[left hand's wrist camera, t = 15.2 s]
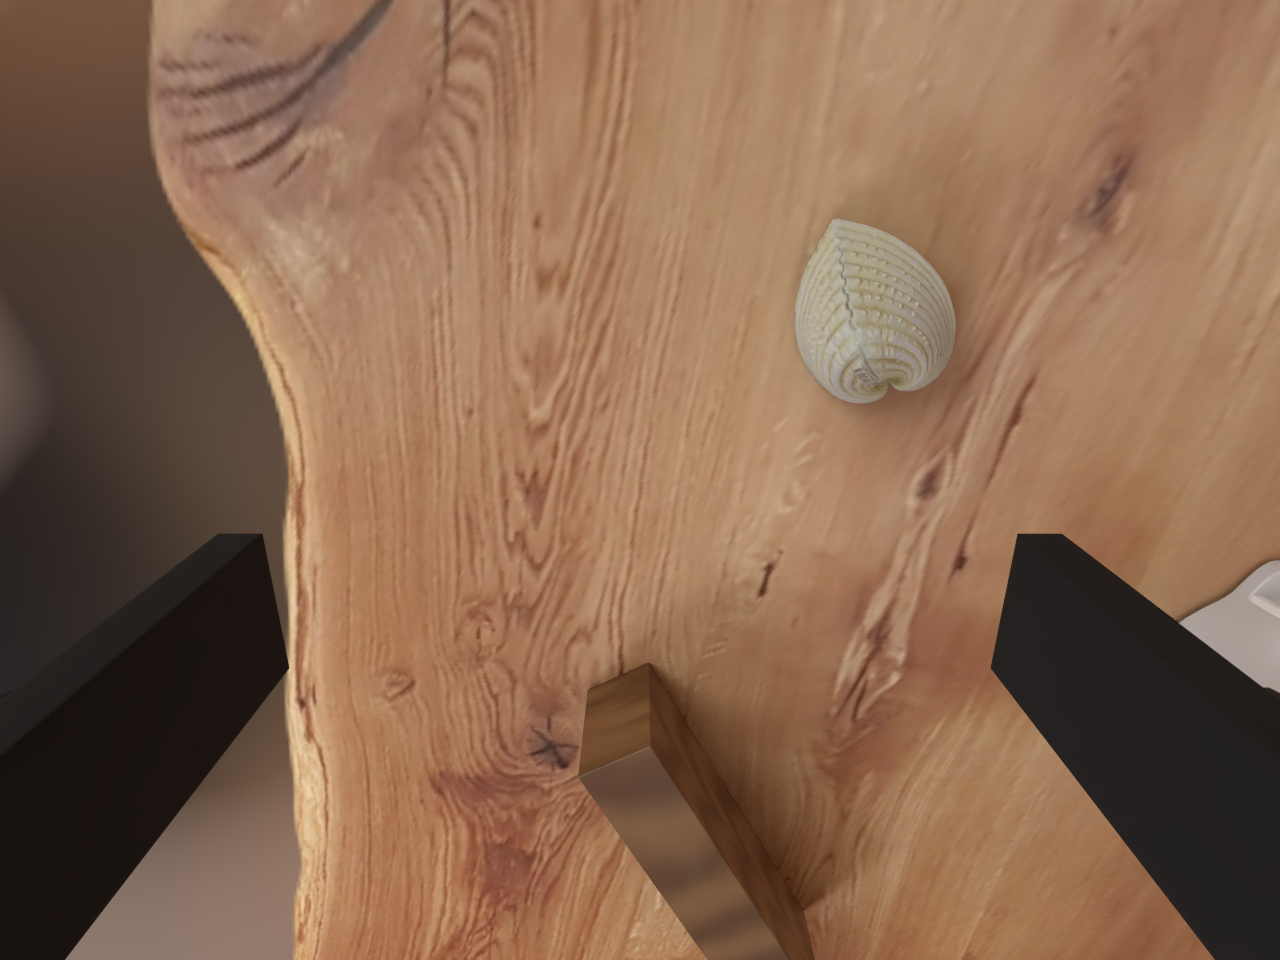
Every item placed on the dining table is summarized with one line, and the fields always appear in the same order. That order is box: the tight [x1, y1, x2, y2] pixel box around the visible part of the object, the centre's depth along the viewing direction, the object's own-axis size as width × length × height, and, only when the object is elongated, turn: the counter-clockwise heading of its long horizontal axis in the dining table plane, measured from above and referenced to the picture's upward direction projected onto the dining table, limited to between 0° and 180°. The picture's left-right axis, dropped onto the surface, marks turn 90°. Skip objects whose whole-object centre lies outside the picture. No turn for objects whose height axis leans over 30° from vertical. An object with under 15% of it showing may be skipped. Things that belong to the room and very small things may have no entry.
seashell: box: [795, 218, 956, 404], centre depth 38 cm, size 8×8×8 cm
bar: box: [578, 663, 815, 960], centre depth 49 cm, size 26×5×8 cm, turn 28°
